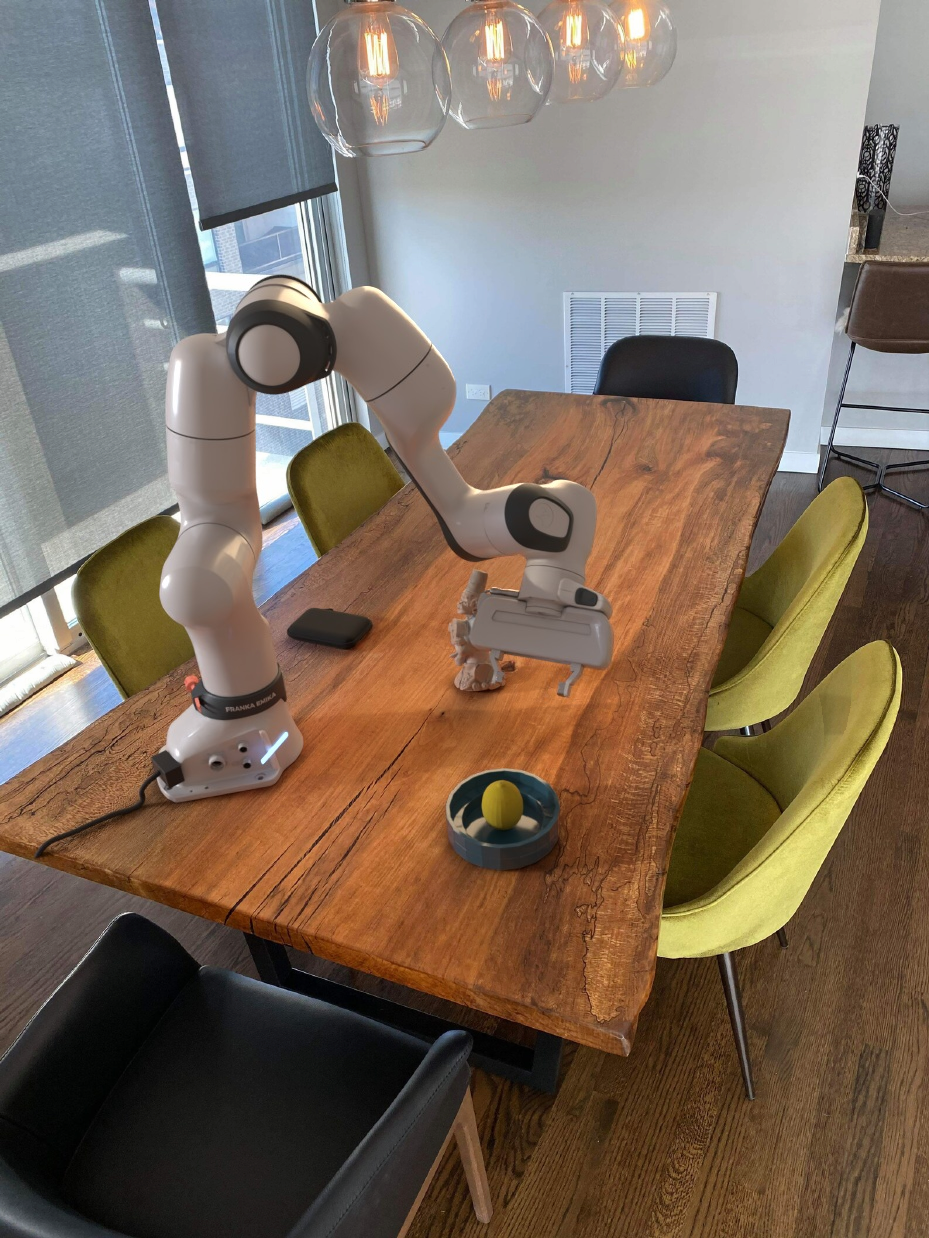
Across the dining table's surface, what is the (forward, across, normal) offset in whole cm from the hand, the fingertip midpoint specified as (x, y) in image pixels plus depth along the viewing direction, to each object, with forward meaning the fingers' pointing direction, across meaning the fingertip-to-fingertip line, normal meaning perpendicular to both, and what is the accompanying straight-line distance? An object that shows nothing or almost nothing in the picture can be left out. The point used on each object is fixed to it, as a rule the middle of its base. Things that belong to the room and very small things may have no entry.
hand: (530, 690), depth 126 cm
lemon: (+19, 0, +2) cm, 19 cm away
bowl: (+19, 0, +2) cm, 19 cm away
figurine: (-3, -16, +24) cm, 30 cm away
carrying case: (-8, -48, +29) cm, 57 cm away
